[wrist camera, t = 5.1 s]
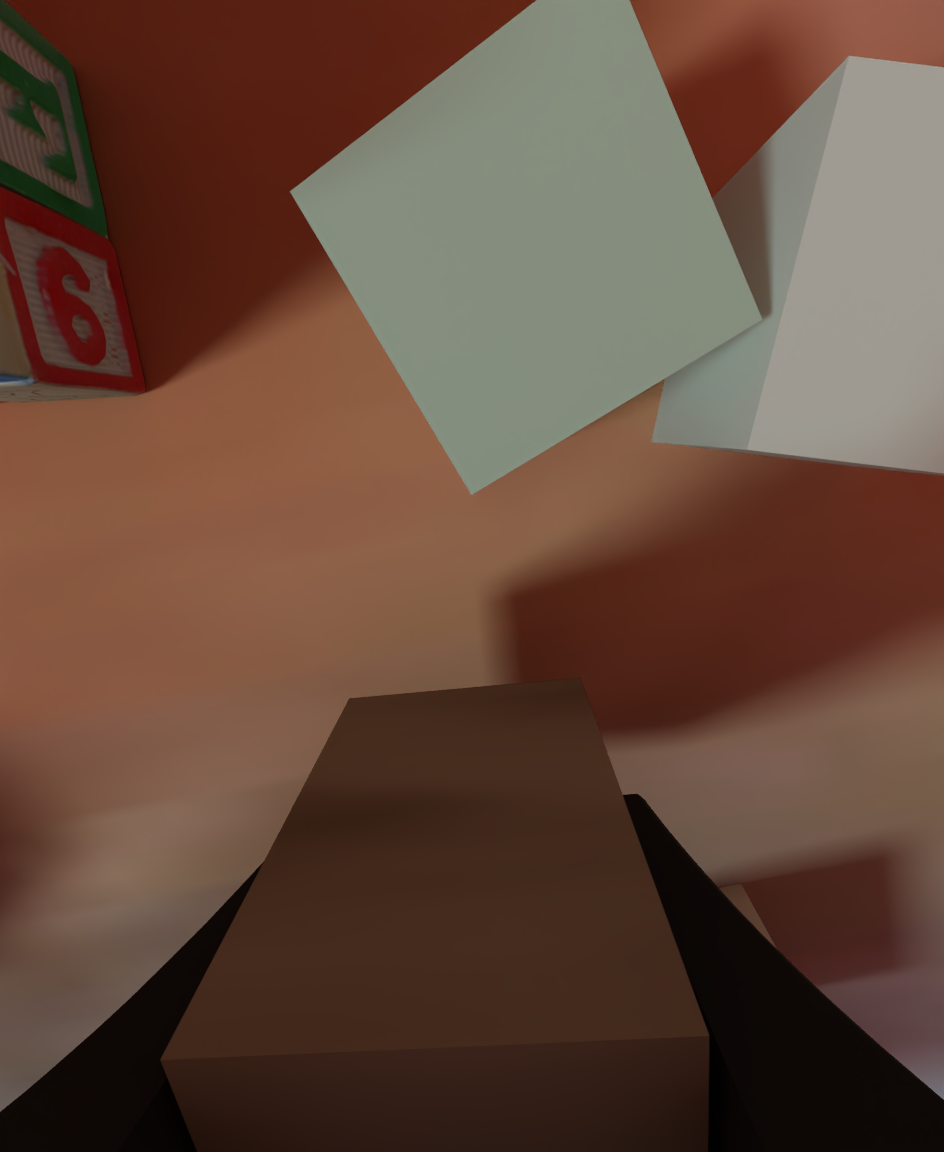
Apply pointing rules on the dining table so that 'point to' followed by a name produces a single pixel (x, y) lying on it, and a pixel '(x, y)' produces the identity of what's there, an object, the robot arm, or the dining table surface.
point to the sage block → (532, 236)
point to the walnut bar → (450, 951)
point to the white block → (834, 285)
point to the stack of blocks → (54, 238)
